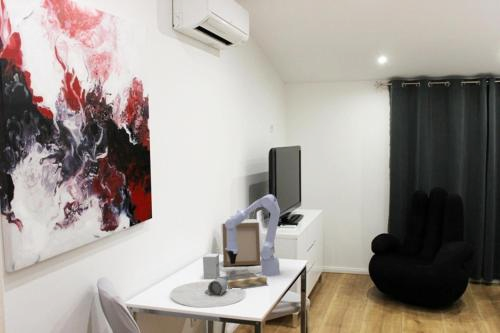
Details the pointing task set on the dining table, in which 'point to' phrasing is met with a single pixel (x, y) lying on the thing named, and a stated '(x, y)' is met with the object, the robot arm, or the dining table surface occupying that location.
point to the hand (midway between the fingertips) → (232, 263)
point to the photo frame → (244, 245)
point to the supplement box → (211, 266)
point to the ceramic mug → (217, 286)
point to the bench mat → (246, 287)
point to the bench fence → (247, 282)
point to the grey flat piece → (238, 274)
